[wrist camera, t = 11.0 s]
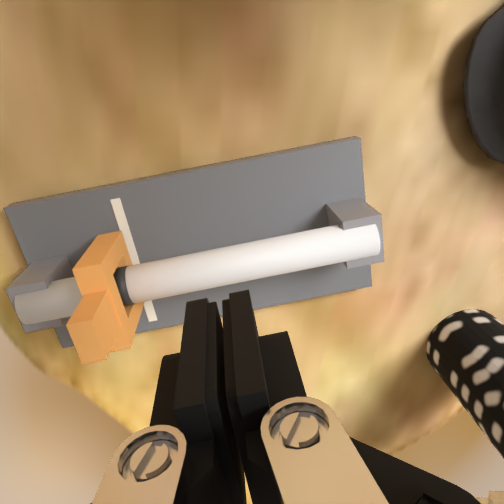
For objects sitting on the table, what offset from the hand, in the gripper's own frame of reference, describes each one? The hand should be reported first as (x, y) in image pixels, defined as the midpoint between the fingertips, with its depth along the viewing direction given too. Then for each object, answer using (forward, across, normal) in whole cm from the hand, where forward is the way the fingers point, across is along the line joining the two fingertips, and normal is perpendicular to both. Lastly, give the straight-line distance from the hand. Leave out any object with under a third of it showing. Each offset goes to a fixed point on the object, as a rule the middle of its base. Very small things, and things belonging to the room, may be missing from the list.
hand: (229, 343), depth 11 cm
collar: (+25, +10, +7) cm, 27 cm away
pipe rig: (+27, +3, +7) cm, 28 cm away
